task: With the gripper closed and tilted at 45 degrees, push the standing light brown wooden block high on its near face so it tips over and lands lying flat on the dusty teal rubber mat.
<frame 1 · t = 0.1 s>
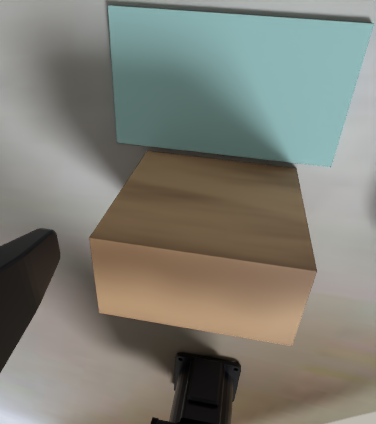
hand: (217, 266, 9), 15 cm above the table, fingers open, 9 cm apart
mat: (227, 90, 21), on the table
light brown wooden block: (216, 191, 25), on the table
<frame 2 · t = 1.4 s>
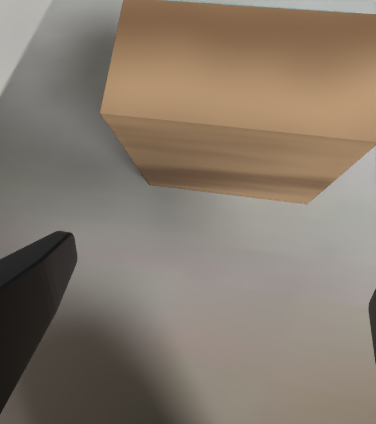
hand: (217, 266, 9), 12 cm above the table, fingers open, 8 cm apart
light brown wooden block: (231, 157, 23), on the table
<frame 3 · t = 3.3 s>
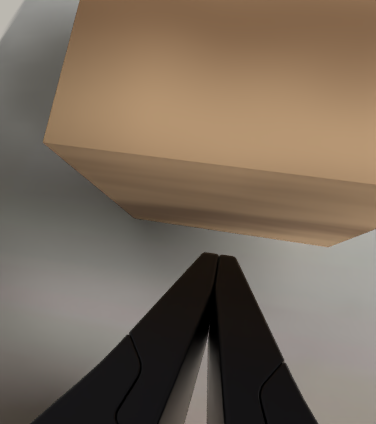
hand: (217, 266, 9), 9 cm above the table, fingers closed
light brown wooden block: (234, 186, 19), on the table
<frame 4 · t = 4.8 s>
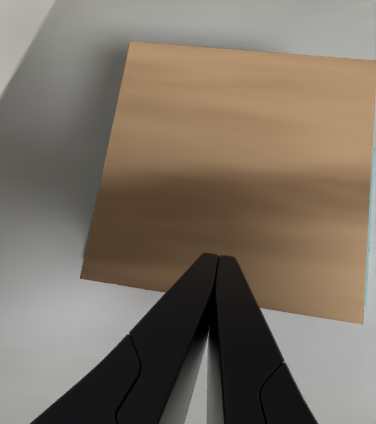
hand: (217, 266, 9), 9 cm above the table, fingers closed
mat: (228, 206, 18), on the table
light brown wooden block: (215, 298, 15), point 3 cm above the table, tilted 90°, touching mat
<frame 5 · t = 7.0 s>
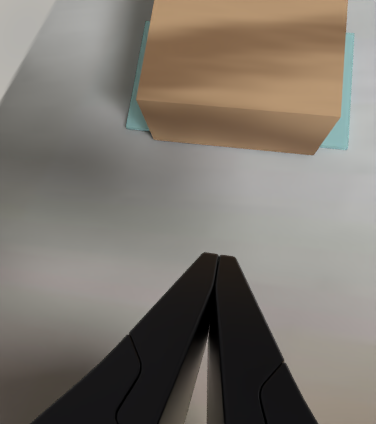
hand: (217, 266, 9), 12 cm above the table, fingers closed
mat: (239, 82, 23), on the table
light brown wooden block: (233, 130, 20), point 3 cm above the table, tilted 90°, touching mat
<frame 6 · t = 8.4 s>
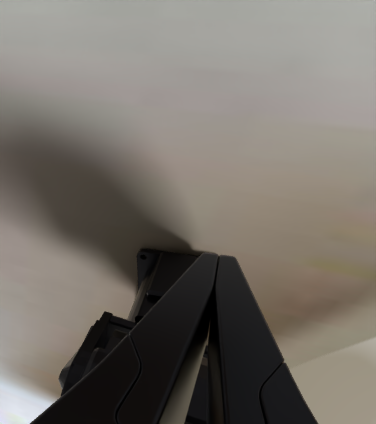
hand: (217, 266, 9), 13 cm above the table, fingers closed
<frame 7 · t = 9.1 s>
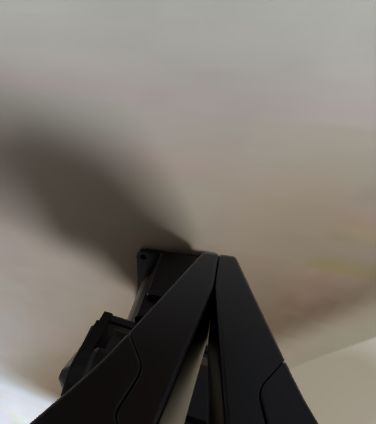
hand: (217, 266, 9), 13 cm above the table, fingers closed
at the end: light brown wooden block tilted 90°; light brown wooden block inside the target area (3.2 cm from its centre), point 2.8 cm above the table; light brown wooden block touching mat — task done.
